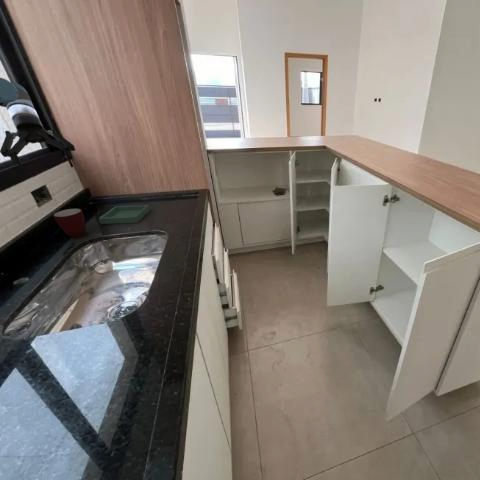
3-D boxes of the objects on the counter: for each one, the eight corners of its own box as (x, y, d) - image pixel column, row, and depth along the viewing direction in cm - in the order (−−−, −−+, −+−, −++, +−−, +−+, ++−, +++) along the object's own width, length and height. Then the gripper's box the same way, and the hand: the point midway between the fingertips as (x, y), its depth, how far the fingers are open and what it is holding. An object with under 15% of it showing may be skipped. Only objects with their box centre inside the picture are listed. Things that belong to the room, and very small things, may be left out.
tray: (100, 224, 114) (98, 218, 113) (117, 211, 127) (115, 206, 125) (137, 222, 116) (135, 217, 115) (150, 210, 129) (148, 205, 128)
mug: (71, 230, 108) (60, 207, 103) (95, 227, 111) (86, 205, 106) (61, 242, 100) (49, 218, 95) (87, 238, 102) (77, 215, 98)
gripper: (71, 125, 112) (91, 168, 110) (-18, 130, 96) (4, 179, 95) (67, 113, 106) (88, 157, 104) (-28, 115, 91) (-5, 167, 89)
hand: (48, 168), depth 99 cm, fingers open, 13 cm apart
